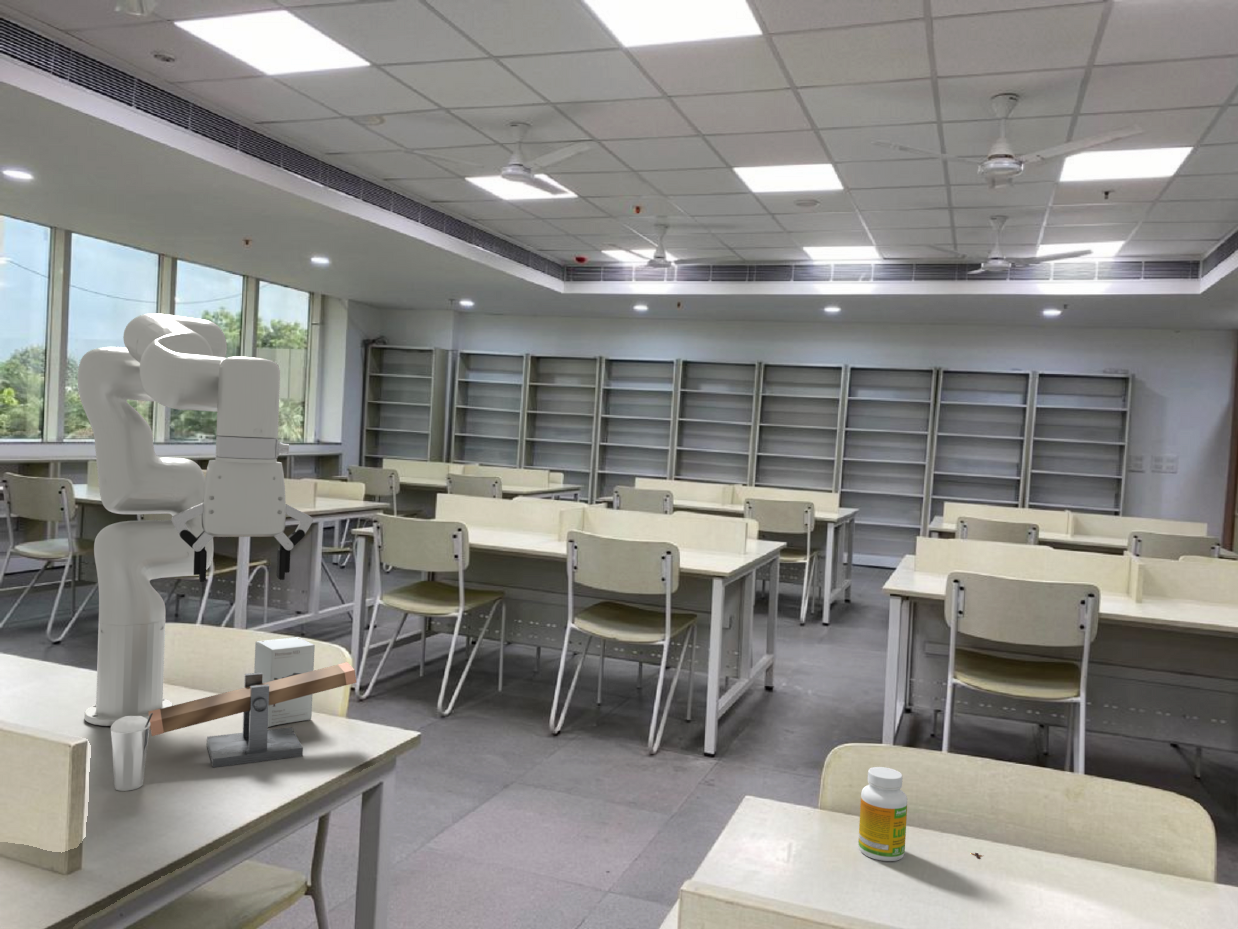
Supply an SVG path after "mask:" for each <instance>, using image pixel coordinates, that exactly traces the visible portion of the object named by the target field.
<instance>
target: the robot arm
mask: <svg viewBox="0 0 1238 929" xmlns="http://www.w3.org/2000/svg"><path fill="white" fill-rule="evenodd" d="M122 337H123V338H122V339H123V344H124V346H125V347H122V346H120V347H119V346H117V347H116V346H105V347H97V348H93V349H90V350H88V351H87V352H86V353H84V355H82V357H81V359H80V361H79V363H78V368H77V369H78V370H77V390H78V394H79V398H80V402H81V406H82V408H83V410H84V413H85V415H86V417H87V419H88V422H89V424H90V427H91V430H92V433H93V439H94V449H95V457H96V460H95V461H96V469H97V470H96V471H97V479H98V480H97V481H98V488H99V496H100V502H101V503H102V505H103V507H104V508H105V509H106V510H107V511H108V512H111V513H113V514H118V515H159V514H160V515H162V514H165V515H166V514H169V515H171V519H161V520H158V519H149V520H127V521H126V520H125V521H119V522H115V523H112V524H108V525H106V526H105V527H103V528H102V529H100V531H99V532H98V533H97V535H96V537H95V539H94V543H93V554H94V563H95V566H96V568H95V569H96V574H97V576H96V577H97V582H98V631H97V632H98V634H97V666H96V667H97V668H96V669H97V670H96V691H95V692H96V694H95V695H96V696H95V704H93V705H91V706H89V707H88V708H87V709H85V711H84V720H85V721H86V722H87V723H89V724H92V725H95V726H102V727H111V726H112V724H113V723H114V722H115V721H116V720H118V719H120V718H122V717H125V716H142V717H144V718H146V719H148V718H149V711H153V710H157V709H162V708H166V707H170V706H174V704H173V702H172V701H171V700H169V699H166V698H164V677H165V676H164V671H165V646H166V645H165V641H166V613H167V612H166V604H165V601H164V599H163V598H162V595H161V594H160V593H158V592H157V590H156V589H155V588H154V587H153V586H152V584H151V582H150V581H151V580H157V579H158V580H159V579H161V578H162V579H163V578H175V577H188V576H198V580H199V583H205V582H206V581H207V570H208V569H209V568H210V567H211V565H212V562H213V558H214V547H215V546H214V537H216V538H219V537H220V538H221V537H222V538H226V537H227V538H228V537H229V538H230V537H231V538H233V537H234V538H239V537H240V538H241V537H243V538H248V537H251V538H254V537H257V538H258V537H259V538H261V537H274V538H275V539H276V541H277V542H278V543H279V547H278V548H277V550H276V553H277V554H276V577H277V578H278V580H280V581H284V580H285V578H286V576H285V575H286V574H287V573H288V574H289V573H290V569H291V550H292V549H294V547H295V546H296V545H297V544H298V543H299V542H300V541H301V540H302V539H304V538H305V536H306V534H307V532H308V531H309V529H310V527H311V525H312V524H313V522H314V518H313V517H312V516H310V515H309V514H307V513H305V512H302V511H301V510H299V509H297V508H295V507H293V506H291V505H289V504H287V503H286V485H285V475H284V474H285V473H284V468H283V462H280V461H278V457H280V455H284V454H289V452H290V450H289V449H290V444H289V443H283V442H281V441H279V416H280V415H279V411H280V410H279V409H280V387H281V370H280V367H279V365H278V364H277V363H276V362H275V361H273V360H271V359H266V358H262V357H252V356H251V357H249V356H229V357H226V356H227V352H228V350H227V349H228V346H227V344H228V343H227V339H226V335H225V333H224V332H223V330H222V329H221V327H220V326H219V325H218V324H216V323H215V322H213V321H212V320H211V321H210V320H207V319H202V318H196V317H187V316H181V315H175V314H174V315H173V314H167V313H165V314H164V313H155V312H153V313H144V314H141V315H138V316H136V317H134V318H133V319H131V320H130V321H129V322H128V324H127V325H126V326H125V329H124V332H123V336H122ZM128 400H129V401H131V400H133V401H145V402H156V403H158V404H160V405H162V406H163V407H165V408H169V409H174V410H179V411H180V410H181V411H182V410H183V411H197V412H199V411H201V412H202V411H203V412H216V435H215V436H216V438H215V459H210V460H209V459H208V464H207V467H206V472H205V473H204V471H203V469H202V468H201V466H200V465H199V464H198V463H196V462H195V460H191V459H190V458H184V457H160V456H159V455H157V454H156V452H155V447H154V438H153V436H154V435H153V431H152V429H151V426H150V425H149V423H148V422H147V421H146V419H145V418H144V417H143V416H142V415H141V413H140V412H138V411H137V410H136V408H134V407H133V406H132V405H131V404H130V403H128ZM286 515H287V516H288V517H291V518H292V519H295V520H296V521H298V525H297V527H296V529H295V530H293V532H292V533H290V534H289V535H288V536H287V535H286V533H285V532H284V531H285V529H286V518H287V517H286Z"/></svg>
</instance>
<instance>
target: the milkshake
mask: <svg viewBox="0 0 1238 929" xmlns="http://www.w3.org/2000/svg"><path fill="white" fill-rule="evenodd" d="M152 714H153V713H151V714H150V716H149V718H148V719H146V718H144V717H142V716H125V717H122V718H120V719H118V720H116V721H115V722H114V723H113V724H112V726H110V736H111V737H110V738H111V746H112V766H113V768H112V769H113V770H112V771H113V785H114V786H113V787H114V789H115V790H116V791H120V792H128V791H134V790H137V789H139V788H141V787H142V786H143V785H144V780H145V770H146V761H147V752H148V742H149V735H150V731H151V728H150V722H149V721H150V719H151V717H152Z"/></svg>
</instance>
